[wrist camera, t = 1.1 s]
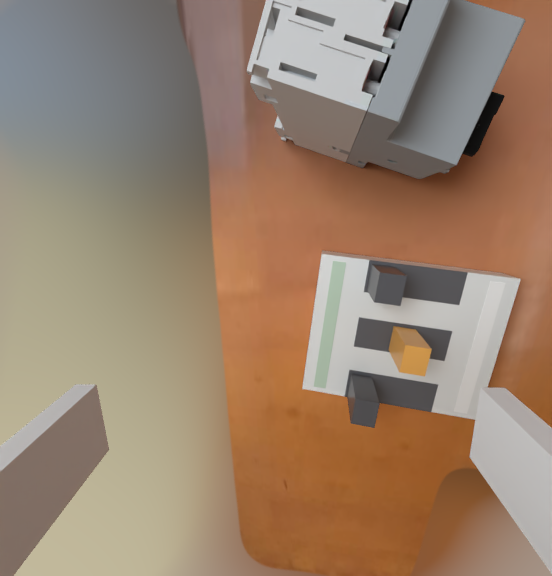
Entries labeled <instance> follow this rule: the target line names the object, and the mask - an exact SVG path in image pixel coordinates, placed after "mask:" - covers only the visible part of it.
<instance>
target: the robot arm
mask: <svg viewBox="0 0 552 576" xmlns="http://www.w3.org/2000/svg"><path fill="white" fill-rule="evenodd" d="M108 450H109V447H108V442H107V437H106V432H105V426H104V421H103V416H102V411H101V406H100V401H99V395H98V390H97V385H82V384H81V385H80V384H77V385H74V386H73V387H72V388H71V389H70V390H68V391H67V392H66V393H65V394H63V395H62V396H61V397H60V398H59V399H57V400H56V401H55V402H54V403H52V404H51V405H50V406H49V407H48V408H46V409H45V410H44V411H43V412H41V413H40V414H39V415H38V416H37V417H35V418H34V419H33V420H32V421H30V422H29V423H28V424H27V425H26V426H24V427H23V428H22V429H21V430H19V431H18V432H17V433H16V434H14V436H12V437H11V438H10V439H9V440H7V441H6V442H5V443H4V444H2V445H1V446H0V576H14V574H15V573H16V572H17V570H18V569H19V568H20V566H21V565H22V564H23V562H24V561H25V560H26V558H27V557H28V556H29V554H30V553H31V552H32V550H33V549H34V548H35V546H36V545H37V544H38V542H39V541H40V540H41V539H42V537H43V536H44V535H45V533H46V532H47V531H48V529H49V528H50V527H51V525H52V524H53V523H54V522H55V520H56V519H57V518H58V516H59V515H60V514H61V512H62V511H63V510H64V508H65V507H66V506H67V504H68V503H69V502H70V500H71V499H72V498H73V496H74V495H75V494H76V492H77V491H78V490H79V488H80V487H81V486H82V485H83V483H84V482H85V481H86V479H87V478H88V476H89V475H90V474H91V473H92V471H93V470H94V469H95V467H96V466H97V465H98V463H99V462H100V461H101V460H102V458H103V457H104V455H105V454H106V453H107V452H108ZM470 458H471V460H472V461H473V463H474V464H475V465H476V467H477V468H478V470H479V471H480V473H481V474H482V475H483V477H484V478H485V480H486V481H487V483H488V484H489V485H490V487H491V488H492V490H493V491H494V492H495V494H496V495H497V497H498V498H499V500H500V501H501V503H502V504H503V505H504V507H505V508H506V510H507V511H508V513H509V514H510V515H511V517H512V518H513V520H514V521H515V522H516V524H517V525H518V527H519V528H520V530H521V531H522V532H523V534H524V535H525V537H526V538H527V540H528V541H529V542H530V544H531V545H532V547H533V548H534V550H535V551H536V552H537V554H538V555H539V557H540V558H541V559H542V561H543V562H544V564H545V565H546V567H547V568H548V569H549V571H550V572H551V574H552V428H551V427H550V426H549V425H548V424H546V423H545V422H544V421H543V420H542V419H541V418H539V417H538V416H537V415H536V414H535V413H534V412H532V411H531V410H530V409H529V408H528V407H527V406H525V405H524V404H523V403H522V402H521V401H520V400H518V399H517V398H516V397H515V396H514V395H513V394H512V393H510V392H509V391H508V390H507V389H506V388H480V395H479V401H478V407H477V413H476V420H475V426H474V432H473V439H472V445H471V451H470Z"/></svg>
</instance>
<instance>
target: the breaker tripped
mask: <svg viewBox="0 0 552 576" xmlns="http://www.w3.org/2000/svg"><path fill="white" fill-rule="evenodd" d="M431 350H432V349H431V348H430V346H429V345H428V344H427V343H426V341H425V340H424V339H423V338H422V336H421V335H420V334H419V333H418V332H417V330H416V329H409V328H403V327H396V326H393V331H392V336H391V341H390V345H389V352H390V354H391V356H392V358H393V360H394V362H395V364H396V366H397V368H398V371H399V372H401V373H407V374H413V375H419V376H425V374H426V370H427V366H428V362H429V358H430V354H431Z"/></svg>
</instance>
